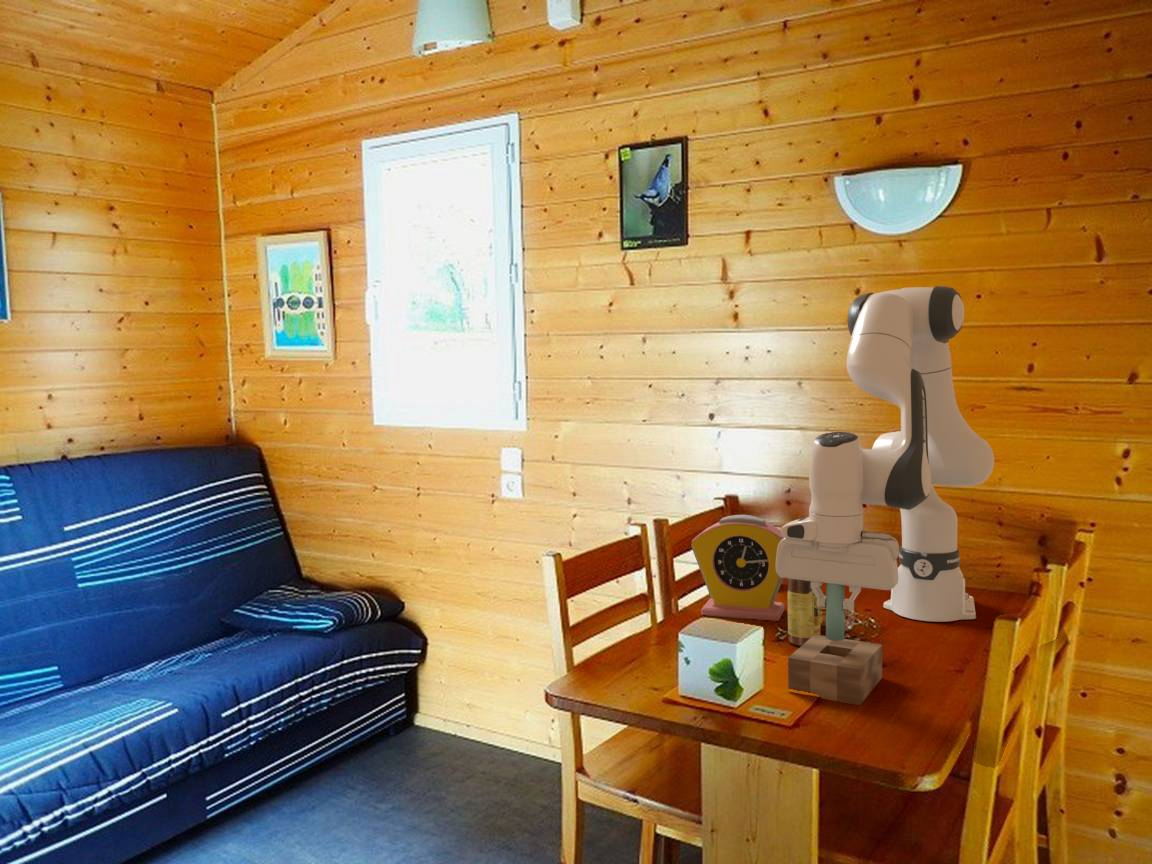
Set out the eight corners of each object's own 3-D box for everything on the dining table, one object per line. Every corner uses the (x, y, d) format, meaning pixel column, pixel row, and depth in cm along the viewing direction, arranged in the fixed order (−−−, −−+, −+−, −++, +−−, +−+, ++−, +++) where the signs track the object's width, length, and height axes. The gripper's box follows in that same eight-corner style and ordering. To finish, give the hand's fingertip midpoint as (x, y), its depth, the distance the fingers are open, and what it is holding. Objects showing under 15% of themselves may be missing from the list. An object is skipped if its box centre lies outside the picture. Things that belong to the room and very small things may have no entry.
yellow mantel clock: (688, 615, 202) (687, 517, 199) (698, 603, 210) (697, 510, 208) (791, 623, 194) (791, 522, 192) (797, 611, 202) (796, 514, 200)
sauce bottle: (821, 648, 178) (821, 547, 176) (788, 647, 179) (787, 546, 177) (819, 637, 184) (819, 539, 182) (787, 636, 185) (786, 539, 183)
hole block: (814, 666, 168) (814, 634, 167) (881, 677, 162) (882, 644, 161) (788, 692, 156) (788, 657, 156) (859, 705, 150) (859, 669, 149)
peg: (829, 634, 160) (829, 577, 159) (846, 636, 158) (846, 579, 158) (823, 639, 158) (823, 581, 157) (841, 641, 156) (841, 583, 155)
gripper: (903, 531, 153) (902, 612, 155) (784, 520, 164) (784, 596, 166) (894, 538, 148) (893, 622, 149) (772, 526, 159) (772, 605, 160)
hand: (835, 608), depth 158 cm, fingers closed on peg, 3 cm apart
